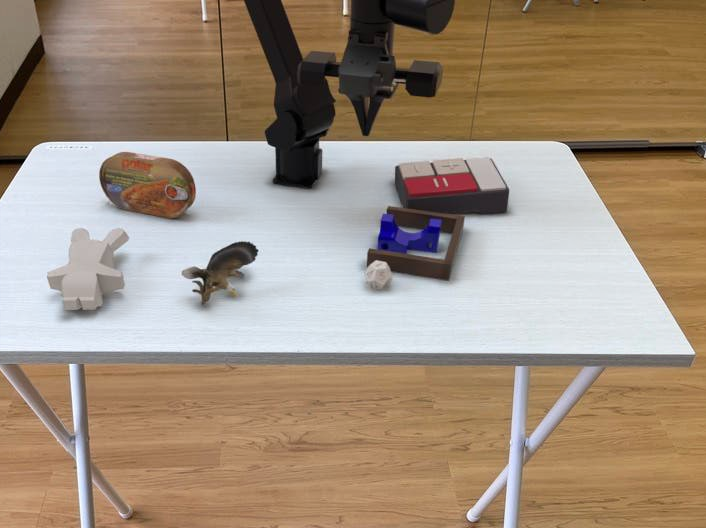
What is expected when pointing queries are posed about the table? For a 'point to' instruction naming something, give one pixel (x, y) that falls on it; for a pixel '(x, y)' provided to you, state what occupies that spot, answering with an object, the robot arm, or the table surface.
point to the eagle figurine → (222, 269)
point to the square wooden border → (421, 263)
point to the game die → (378, 274)
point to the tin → (147, 184)
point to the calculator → (452, 186)
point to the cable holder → (408, 237)
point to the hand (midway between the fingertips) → (366, 135)
